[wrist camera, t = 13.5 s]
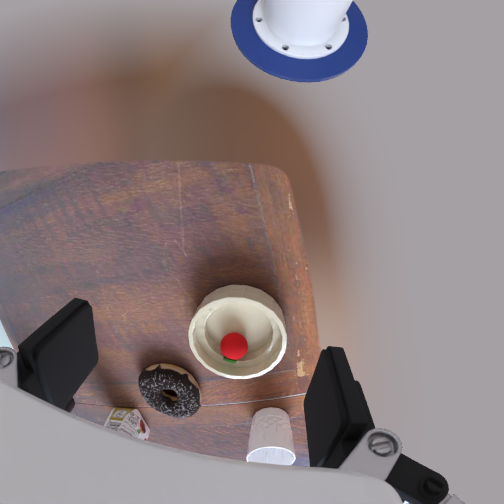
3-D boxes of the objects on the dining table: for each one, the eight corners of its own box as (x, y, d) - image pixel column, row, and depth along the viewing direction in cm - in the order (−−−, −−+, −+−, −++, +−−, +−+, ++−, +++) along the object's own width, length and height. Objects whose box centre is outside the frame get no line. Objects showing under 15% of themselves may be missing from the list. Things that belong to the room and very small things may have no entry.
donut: (182, 353, 45) (175, 367, 41) (215, 402, 48) (212, 417, 44) (131, 367, 47) (123, 380, 43) (166, 412, 50) (160, 426, 46)
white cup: (291, 430, 49) (294, 469, 40) (251, 431, 50) (248, 471, 40) (292, 403, 47) (296, 445, 38) (248, 405, 48) (244, 447, 38)
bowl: (178, 312, 43) (169, 328, 38) (249, 265, 41) (247, 277, 36) (232, 371, 46) (228, 391, 41) (301, 332, 43) (305, 351, 38)
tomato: (219, 327, 42) (211, 354, 41) (235, 335, 39) (226, 364, 38) (239, 331, 44) (231, 357, 44) (256, 338, 41) (248, 366, 41)
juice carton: (139, 405, 50) (105, 477, 31) (155, 432, 52) (129, 501, 34) (109, 403, 50) (72, 468, 32) (126, 430, 53) (96, 493, 34)
